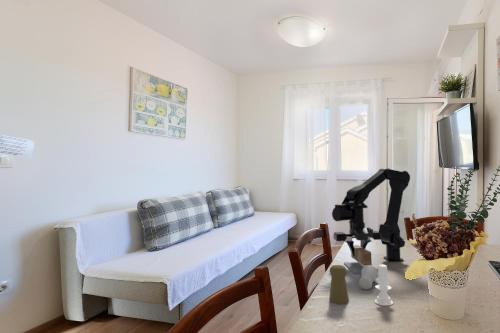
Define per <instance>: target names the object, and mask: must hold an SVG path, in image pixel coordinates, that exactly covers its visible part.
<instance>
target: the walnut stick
mask: <svg viewBox="0 0 500 333" xmlns="http://www.w3.org/2000/svg"><path fill="white" fill-rule="evenodd" d="M353 245H354V257H353V256H352V253H351V252H350V257H351V258H352V259H353V260H355V262H359V263H361V264H362V265H372V266H373V264H372V262H373V261H372V259H373V258H372V251H370V250H368V249H367V248H365V249H364V248H363V247H361V245H359V244H358V245H355V244H353Z"/></svg>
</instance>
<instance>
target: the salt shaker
mask: <svg viewBox="0 0 500 333" xmlns="http://www.w3.org/2000/svg"><path fill="white" fill-rule="evenodd" d="M377 270H378V268H376V267H375V266H374V267H373V264H372V265H367V266H364V268H363V269H362V272H361V273H360V274H361V277H360V278H359V281H358V284H359V286H360V288H361V289H363V290H364V291H365V290H366V291H368V290H370V289H372V286H373V282H375V281H376V280H377V279H378V278H379V276H378V271H377Z"/></svg>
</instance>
